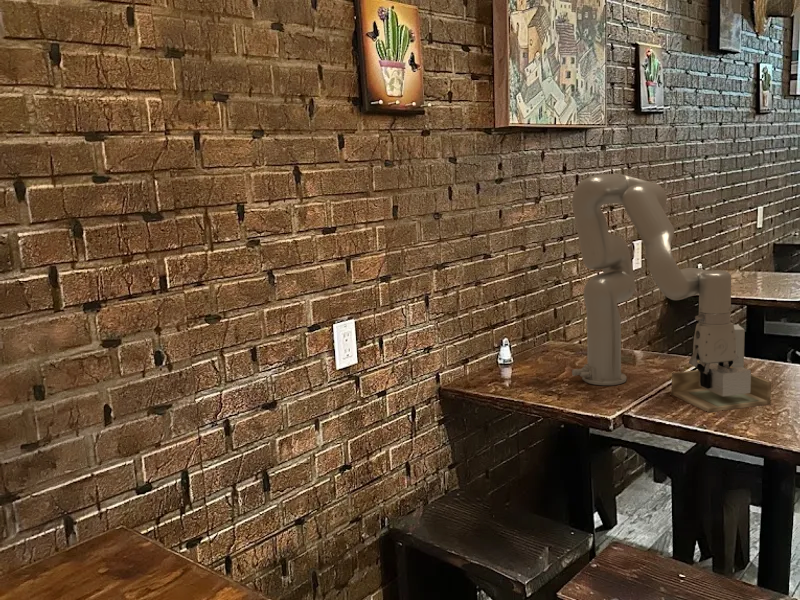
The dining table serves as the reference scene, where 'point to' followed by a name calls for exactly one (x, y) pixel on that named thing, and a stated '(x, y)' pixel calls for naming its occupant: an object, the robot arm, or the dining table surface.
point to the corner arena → (691, 392)
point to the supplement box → (739, 346)
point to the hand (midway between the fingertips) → (713, 385)
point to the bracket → (728, 380)
